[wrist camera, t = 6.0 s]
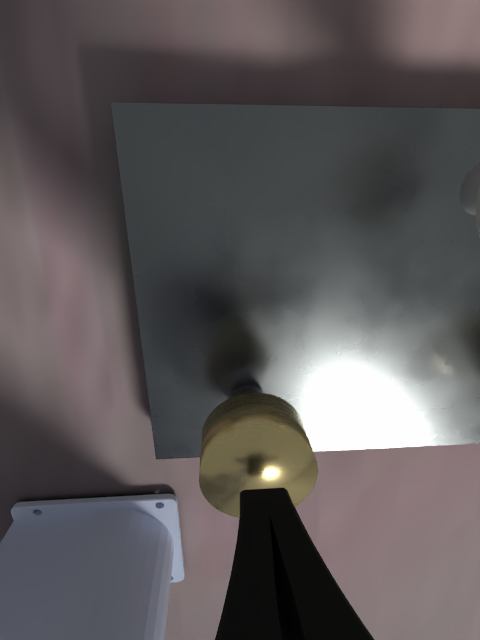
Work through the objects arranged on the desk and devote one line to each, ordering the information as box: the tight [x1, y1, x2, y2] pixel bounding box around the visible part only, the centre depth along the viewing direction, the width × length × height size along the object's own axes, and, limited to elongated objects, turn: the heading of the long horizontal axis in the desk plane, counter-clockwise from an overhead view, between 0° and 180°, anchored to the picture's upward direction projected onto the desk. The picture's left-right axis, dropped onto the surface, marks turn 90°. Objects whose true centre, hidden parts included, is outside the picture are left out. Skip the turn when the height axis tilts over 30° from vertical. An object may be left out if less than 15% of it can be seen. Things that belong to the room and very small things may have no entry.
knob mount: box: [111, 102, 480, 459], centre depth 15 cm, size 23×15×2 cm, turn 90°
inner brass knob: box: [199, 385, 318, 518], centre depth 13 cm, size 4×4×4 cm
